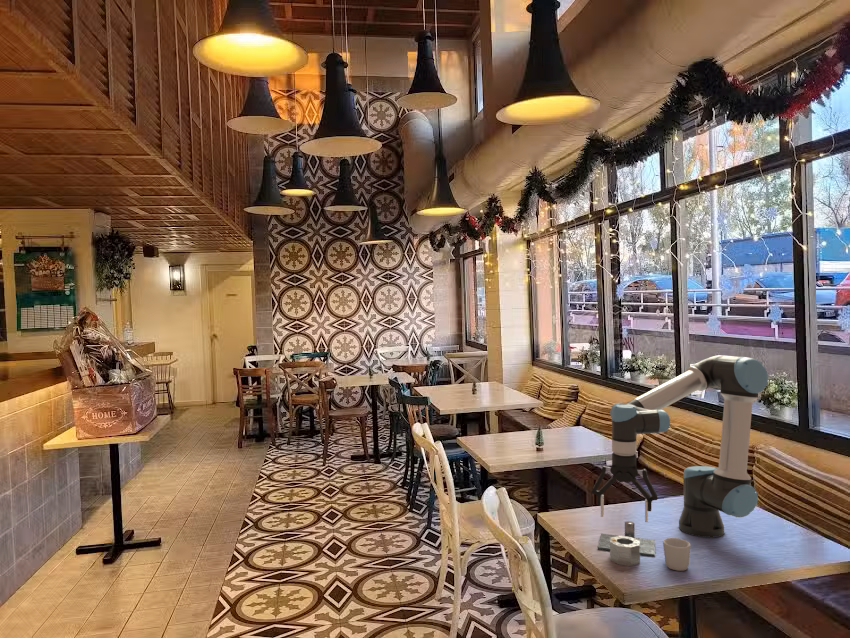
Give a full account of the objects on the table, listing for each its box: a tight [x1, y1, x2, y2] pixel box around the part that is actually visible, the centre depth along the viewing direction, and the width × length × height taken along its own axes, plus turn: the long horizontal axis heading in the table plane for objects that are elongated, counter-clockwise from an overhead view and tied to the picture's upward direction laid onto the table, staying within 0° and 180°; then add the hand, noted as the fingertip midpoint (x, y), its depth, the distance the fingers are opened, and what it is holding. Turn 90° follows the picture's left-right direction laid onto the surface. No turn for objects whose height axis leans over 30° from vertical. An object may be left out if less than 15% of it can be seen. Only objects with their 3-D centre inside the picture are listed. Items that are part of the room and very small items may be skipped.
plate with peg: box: [597, 520, 656, 558], centre depth 204 cm, size 18×13×8 cm
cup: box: [662, 537, 692, 572], centre depth 188 cm, size 11×8×8 cm
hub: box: [609, 535, 641, 567], centre depth 193 cm, size 9×9×6 cm
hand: (623, 518), depth 193 cm, fingers open, 13 cm apart
